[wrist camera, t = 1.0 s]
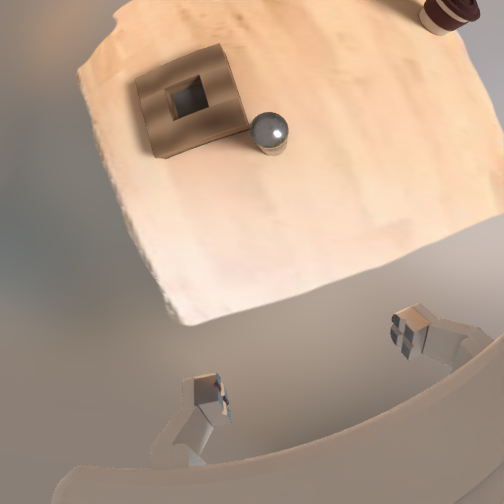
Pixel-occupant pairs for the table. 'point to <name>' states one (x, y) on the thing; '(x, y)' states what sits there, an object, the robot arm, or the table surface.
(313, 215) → the table surface
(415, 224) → the table surface
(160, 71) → the post block
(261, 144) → the steel rod
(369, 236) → the table surface
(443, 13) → the coffee cup
